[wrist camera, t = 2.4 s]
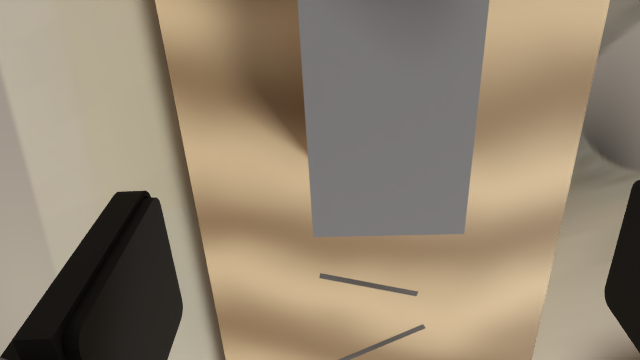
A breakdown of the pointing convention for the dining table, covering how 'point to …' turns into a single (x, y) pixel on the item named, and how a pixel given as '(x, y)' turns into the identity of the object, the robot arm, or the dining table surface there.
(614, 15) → the dining table surface
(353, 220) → the block
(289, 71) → the oak board
